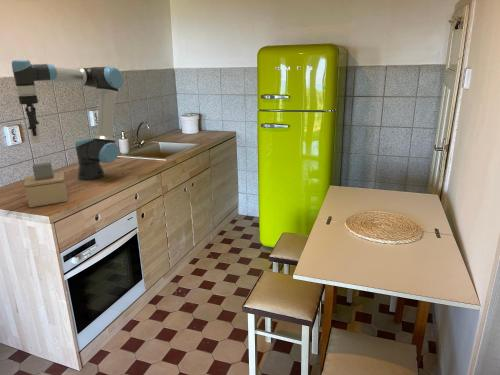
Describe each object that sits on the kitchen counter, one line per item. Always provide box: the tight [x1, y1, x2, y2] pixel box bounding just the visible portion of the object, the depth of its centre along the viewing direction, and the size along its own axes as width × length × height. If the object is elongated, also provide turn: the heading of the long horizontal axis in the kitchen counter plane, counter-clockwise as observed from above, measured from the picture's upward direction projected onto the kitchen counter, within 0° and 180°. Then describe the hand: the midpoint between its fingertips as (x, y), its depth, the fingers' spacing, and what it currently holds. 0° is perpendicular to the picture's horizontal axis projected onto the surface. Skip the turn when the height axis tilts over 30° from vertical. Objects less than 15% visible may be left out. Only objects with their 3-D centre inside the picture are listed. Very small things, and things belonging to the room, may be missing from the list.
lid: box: [23, 171, 66, 188], centre depth 187 cm, size 17×16×1 cm
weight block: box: [32, 161, 54, 181], centre depth 186 cm, size 8×5×7 cm, turn 117°
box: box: [24, 180, 69, 208], centre depth 189 cm, size 17×16×10 cm
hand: (37, 140), depth 181 cm, fingers open, 13 cm apart
